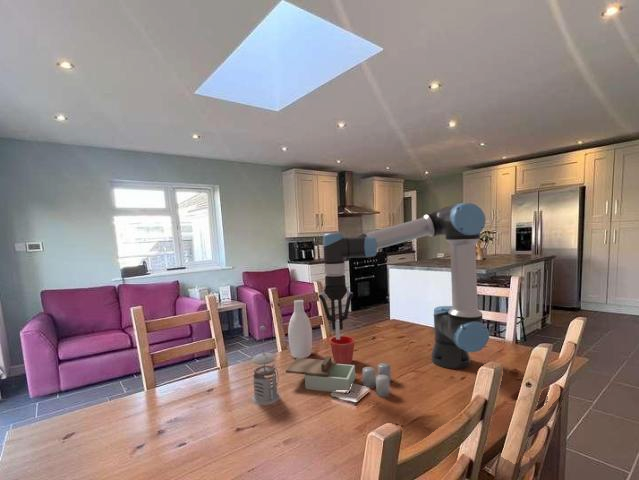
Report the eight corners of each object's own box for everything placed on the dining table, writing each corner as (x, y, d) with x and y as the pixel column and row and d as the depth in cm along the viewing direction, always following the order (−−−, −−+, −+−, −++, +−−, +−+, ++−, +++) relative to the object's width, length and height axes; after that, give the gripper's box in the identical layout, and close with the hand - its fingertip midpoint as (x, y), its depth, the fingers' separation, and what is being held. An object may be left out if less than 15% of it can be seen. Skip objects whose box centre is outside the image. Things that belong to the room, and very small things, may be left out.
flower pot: (355, 356, 141) (354, 335, 141) (355, 367, 130) (354, 344, 130) (331, 357, 142) (330, 335, 142) (330, 367, 131) (329, 344, 131)
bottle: (317, 352, 148) (315, 299, 148) (304, 361, 139) (301, 304, 138) (298, 349, 154) (296, 297, 154) (284, 357, 145) (281, 302, 144)
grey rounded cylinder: (390, 391, 110) (389, 375, 109) (389, 397, 105) (388, 381, 105) (377, 389, 111) (376, 374, 111) (375, 396, 106) (374, 380, 106)
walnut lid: (335, 362, 123) (335, 354, 123) (327, 376, 111) (327, 367, 111) (297, 359, 127) (297, 351, 127) (285, 372, 116) (285, 363, 116)
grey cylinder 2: (391, 378, 119) (390, 363, 119) (390, 383, 115) (389, 368, 115) (379, 377, 121) (378, 362, 120) (377, 382, 116) (377, 367, 116)
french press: (269, 387, 116) (266, 320, 116) (289, 398, 108) (285, 326, 107) (246, 398, 109) (242, 326, 109) (265, 410, 101) (261, 333, 100)
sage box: (355, 378, 120) (354, 365, 120) (348, 393, 109) (348, 379, 109) (315, 374, 125) (315, 361, 125) (305, 388, 114) (304, 375, 114)
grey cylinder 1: (376, 382, 116) (375, 367, 116) (375, 388, 112) (374, 372, 112) (364, 381, 118) (363, 366, 118) (362, 387, 113) (361, 371, 113)
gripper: (352, 272, 119) (355, 334, 120) (317, 274, 120) (320, 335, 120) (353, 275, 112) (356, 341, 112) (316, 276, 112) (320, 342, 113)
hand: (338, 338), depth 116 cm, fingers closed
